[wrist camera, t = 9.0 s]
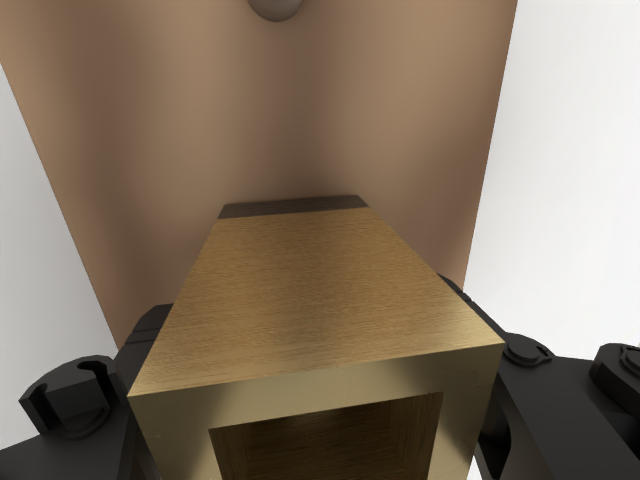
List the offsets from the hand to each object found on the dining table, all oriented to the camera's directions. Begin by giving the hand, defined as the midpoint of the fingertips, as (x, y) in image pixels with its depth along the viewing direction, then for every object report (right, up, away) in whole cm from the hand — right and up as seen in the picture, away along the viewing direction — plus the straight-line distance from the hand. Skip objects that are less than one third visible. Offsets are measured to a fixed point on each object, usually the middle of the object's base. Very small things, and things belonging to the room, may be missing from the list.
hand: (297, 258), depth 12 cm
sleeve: (0, 0, 0) cm, 0 cm away
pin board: (-1, +5, 0) cm, 5 cm away
